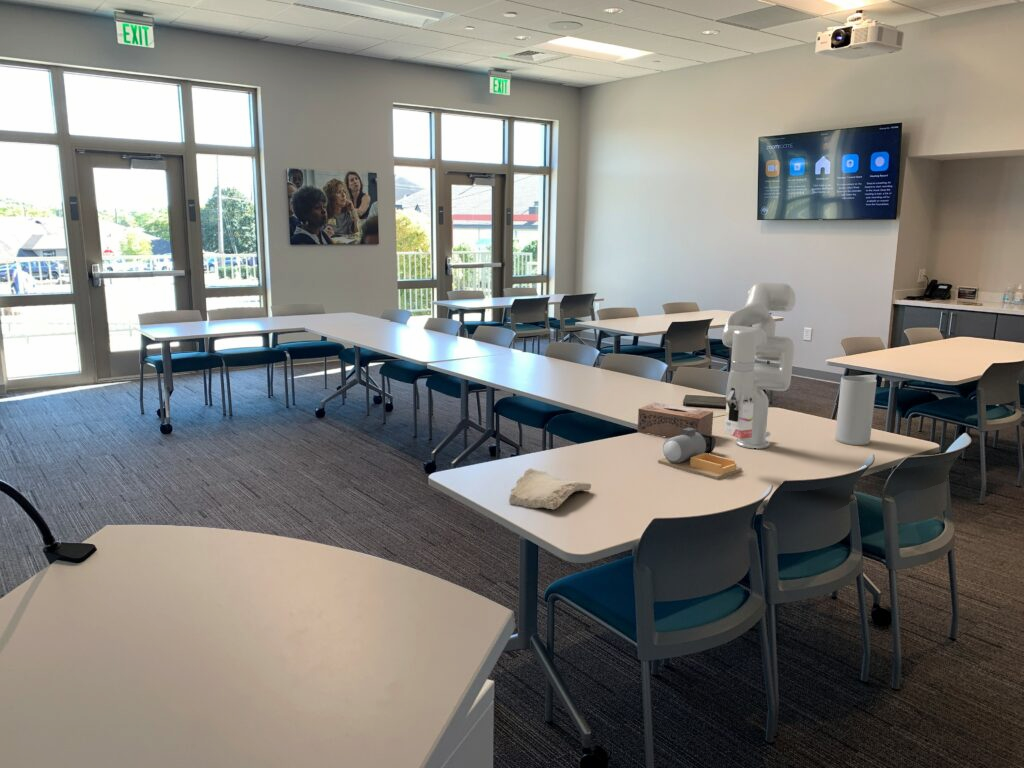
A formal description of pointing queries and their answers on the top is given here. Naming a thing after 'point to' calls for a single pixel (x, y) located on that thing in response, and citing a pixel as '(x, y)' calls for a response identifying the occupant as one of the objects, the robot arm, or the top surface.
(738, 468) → the motor mount
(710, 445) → the end cap
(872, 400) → the cylinder vase
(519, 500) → the beige pottery fragment
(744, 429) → the ink cartridge box
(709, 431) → the tissue box cover
